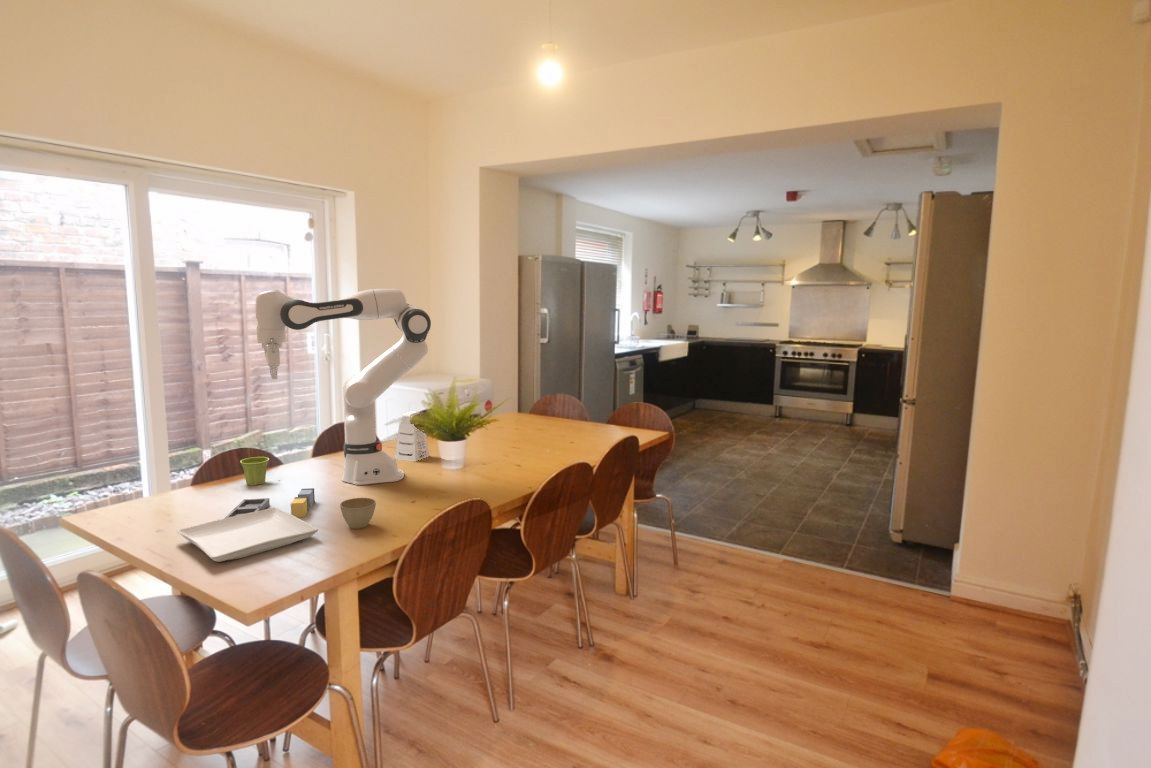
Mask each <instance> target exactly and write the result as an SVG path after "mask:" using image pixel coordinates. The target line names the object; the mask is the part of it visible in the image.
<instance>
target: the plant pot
mask: <svg viewBox="0 0 1151 768" xmlns="http://www.w3.org/2000/svg"><path fill="white" fill-rule="evenodd" d="M269 460H270V458H269V457H266V456H255V457H254V456H253V457H247V458H244V459H241V460H240V461H239V463H240V464H241V466H242V468H243V469H242V470H243V475H244V479H245V484H247V485H248V486H255V485H263V484H265V482H266V475H267V467H268V463H269Z"/></svg>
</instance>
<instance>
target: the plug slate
mask: <svg viewBox="0 0 1151 768" xmlns="http://www.w3.org/2000/svg"><path fill="white" fill-rule="evenodd" d="M297 497H308V507H309V509H310V508H311V507H312V506H313V504H314V503H315V501H316V500H315V497H316V496H315V488H313V487H311V488H301V489H300V491H299V492H298V493H297Z"/></svg>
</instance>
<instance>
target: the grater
mask: <svg viewBox="0 0 1151 768" xmlns="http://www.w3.org/2000/svg"><path fill="white" fill-rule="evenodd" d="M412 414H413V415H417V414H420V415H421V413H420V411H415V410H414V411H413V410H411V411H408V412H404V413H403V415H402V422H399V423H398V430H397V431H398V432H397V439H396V440H397V441H396V447H395V455H394V459H398V461H403V460H407V461H406V462H411V461H415V462H414V463H416V461H417V462H419V461H421V459H422V460H424V459H423V458H425V459H427V458H429V457H428V456H430V457H431V455H430V449H429V442H428V436H427V433H426V434H425V433H423V432H422V431H420V430H419V429H417V428H416V427H415V426H414V424H411V422H410V420H411V415H412ZM413 415H412V416H413ZM407 454H409V455H407ZM421 455H422V456H421ZM423 455H425V456H423ZM426 457H427V458H426ZM418 460H419V461H418Z"/></svg>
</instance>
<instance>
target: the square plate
mask: <svg viewBox="0 0 1151 768" xmlns="http://www.w3.org/2000/svg"><path fill="white" fill-rule="evenodd" d="M318 531H319V528H317V527H315V526H314V525H311V524H310V523H308V522H306V521H304V520H303V519H300V517H295V516H293V515H291V513H289V512H287V511H285V510H283V509H281V508H279V507H272V508H266V509H265V510H261V511H256V512H251V513H247V514H242V515H237V516H233V517H229V518H225V517H224V518H221V519H217V520H212V521H209V522H205V523H201V524H197V525H193V526H190V527H184V528H181V529H177V531H176V533H178V534H179V535H181V536H182V537H183V538H184V539H185V540H187V541H188V542H190V543H191V544H193V545H195V546H196V547H197V548H198V549H200V550H201V551H202V552H203V553H204V554H205V555H206V556H208V557H209V558H210V559H211V560H212V561H214V562H225V561H232V560H233V561H234V560H238V559H242V558H245V557H249V556H253V555H255V554H259V553H264V552H267V551H270V550H274V549H277V548H280V547H284V546H288V545H292V544H294V543H296V542H300V541H303V540H305V539H308V538H310V537H312V536H314V535H315V534H316V533H317V532H318Z"/></svg>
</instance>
